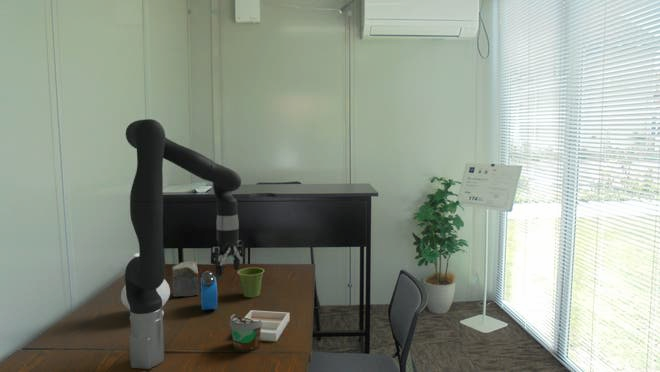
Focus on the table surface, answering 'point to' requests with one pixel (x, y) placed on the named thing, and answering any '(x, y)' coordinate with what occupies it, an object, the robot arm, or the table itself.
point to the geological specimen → (185, 279)
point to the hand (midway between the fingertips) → (228, 272)
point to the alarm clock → (208, 291)
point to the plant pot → (251, 281)
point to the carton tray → (270, 323)
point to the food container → (245, 333)
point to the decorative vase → (162, 290)
